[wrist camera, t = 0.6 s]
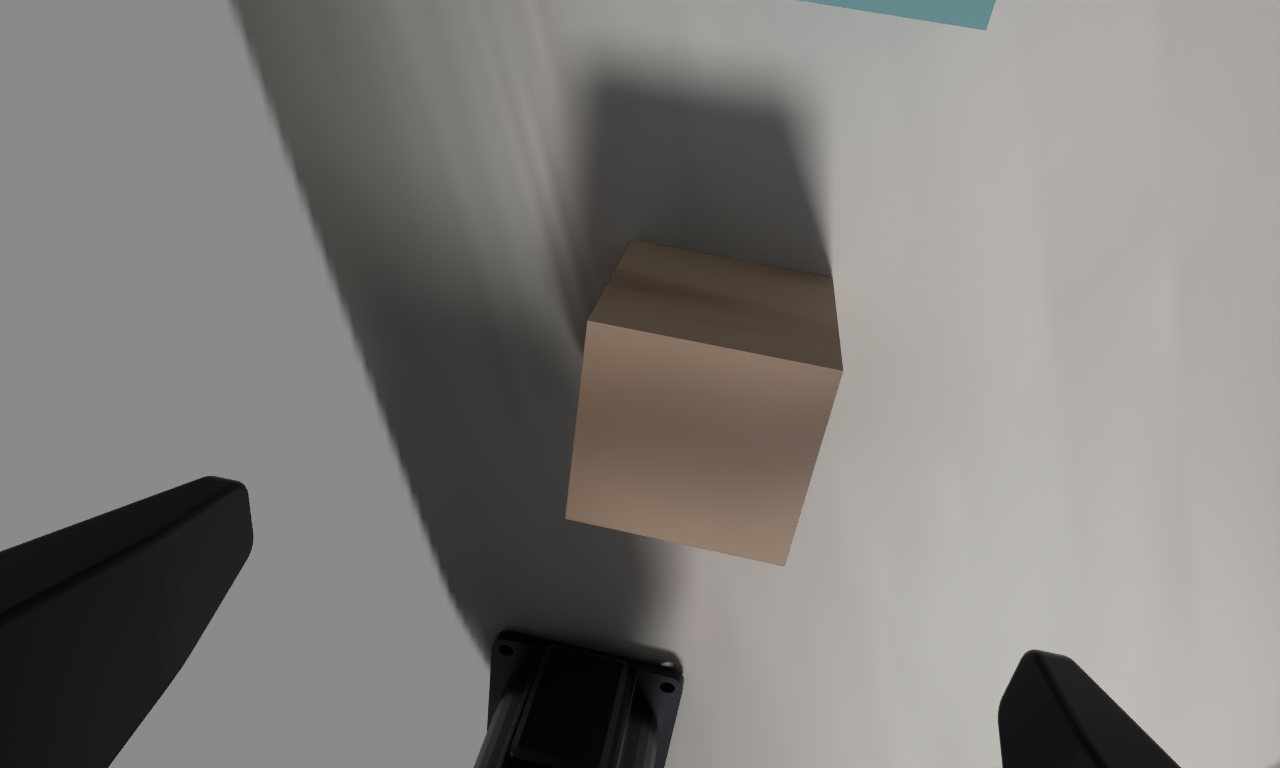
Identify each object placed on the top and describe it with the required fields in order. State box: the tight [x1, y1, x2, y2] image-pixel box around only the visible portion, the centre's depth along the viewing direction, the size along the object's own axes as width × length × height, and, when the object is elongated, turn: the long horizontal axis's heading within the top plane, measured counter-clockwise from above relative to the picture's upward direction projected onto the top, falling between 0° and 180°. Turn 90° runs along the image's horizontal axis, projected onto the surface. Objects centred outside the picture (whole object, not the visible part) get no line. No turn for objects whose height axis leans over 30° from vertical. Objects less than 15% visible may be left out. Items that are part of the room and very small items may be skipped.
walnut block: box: [565, 240, 843, 566], centre depth 19 cm, size 5×5×5 cm
